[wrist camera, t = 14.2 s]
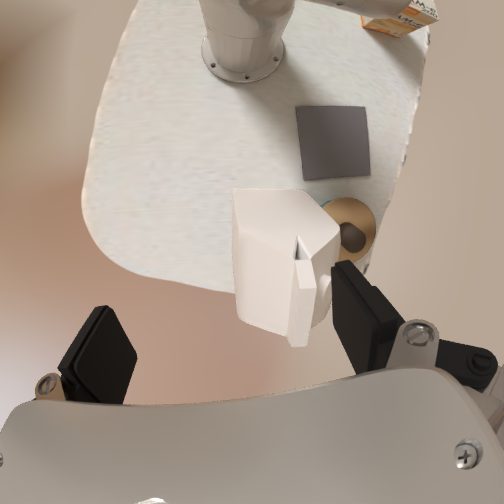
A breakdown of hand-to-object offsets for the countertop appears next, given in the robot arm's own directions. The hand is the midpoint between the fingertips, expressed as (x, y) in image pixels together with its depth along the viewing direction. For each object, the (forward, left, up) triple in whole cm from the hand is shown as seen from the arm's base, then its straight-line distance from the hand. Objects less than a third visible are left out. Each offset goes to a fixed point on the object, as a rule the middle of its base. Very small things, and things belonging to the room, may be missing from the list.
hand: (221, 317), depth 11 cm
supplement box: (-30, +31, -34) cm, 55 cm away
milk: (+7, +5, -34) cm, 35 cm away
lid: (+9, +17, -30) cm, 35 cm away
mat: (-6, +18, -34) cm, 39 cm away
